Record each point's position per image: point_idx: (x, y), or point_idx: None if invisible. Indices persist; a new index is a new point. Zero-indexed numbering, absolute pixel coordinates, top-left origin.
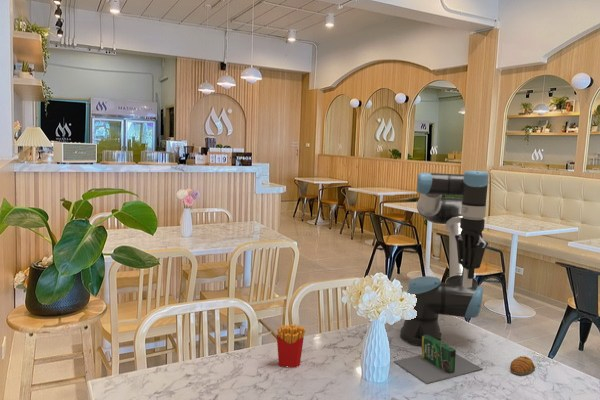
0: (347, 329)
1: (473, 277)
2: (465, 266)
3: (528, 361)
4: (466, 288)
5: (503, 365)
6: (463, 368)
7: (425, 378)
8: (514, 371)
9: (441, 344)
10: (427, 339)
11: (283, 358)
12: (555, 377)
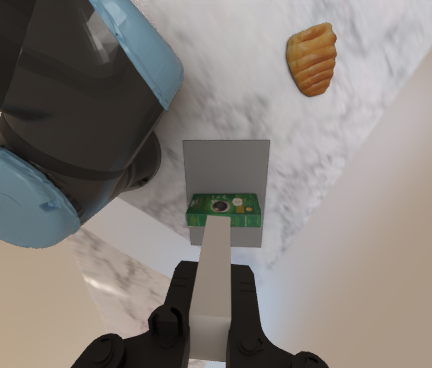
0: (69, 237)
1: (252, 273)
2: (187, 363)
3: (328, 43)
4: (99, 88)
5: (277, 82)
6: (253, 171)
7: (250, 241)
8: (315, 95)
9: (232, 222)
10: (201, 226)
11: None
12: (374, 10)
